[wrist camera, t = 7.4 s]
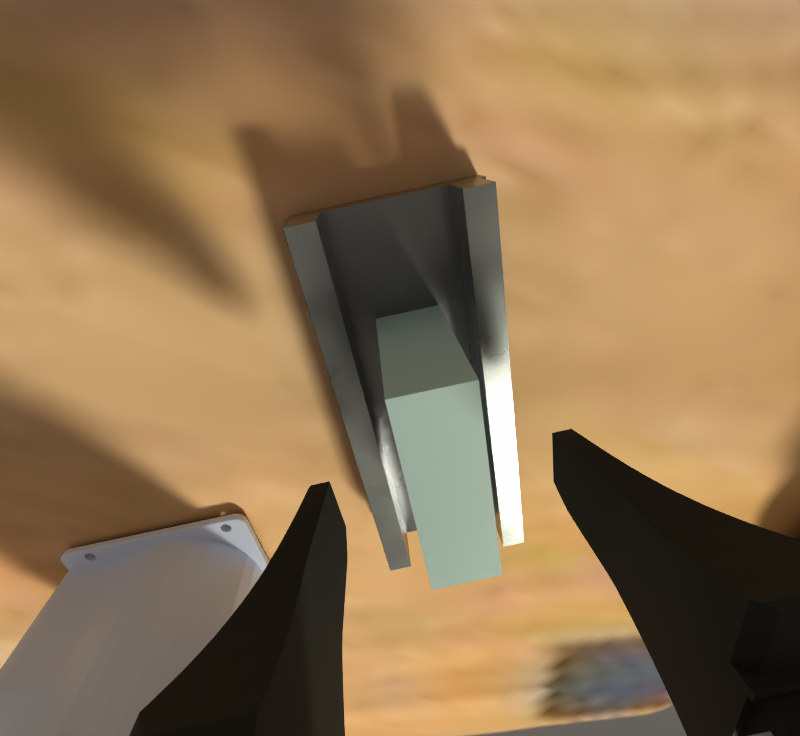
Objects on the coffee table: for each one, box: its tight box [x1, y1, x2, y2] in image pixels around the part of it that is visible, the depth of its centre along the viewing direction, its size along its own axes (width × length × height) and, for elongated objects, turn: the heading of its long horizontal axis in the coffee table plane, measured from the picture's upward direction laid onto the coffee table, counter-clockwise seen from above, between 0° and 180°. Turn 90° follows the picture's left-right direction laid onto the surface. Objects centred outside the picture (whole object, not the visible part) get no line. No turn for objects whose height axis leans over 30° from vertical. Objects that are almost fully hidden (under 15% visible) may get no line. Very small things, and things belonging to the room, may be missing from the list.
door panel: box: [376, 305, 502, 590], centre depth 15 cm, size 2×8×6 cm, turn 11°
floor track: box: [283, 175, 524, 570], centre depth 18 cm, size 7×16×3 cm, turn 11°
